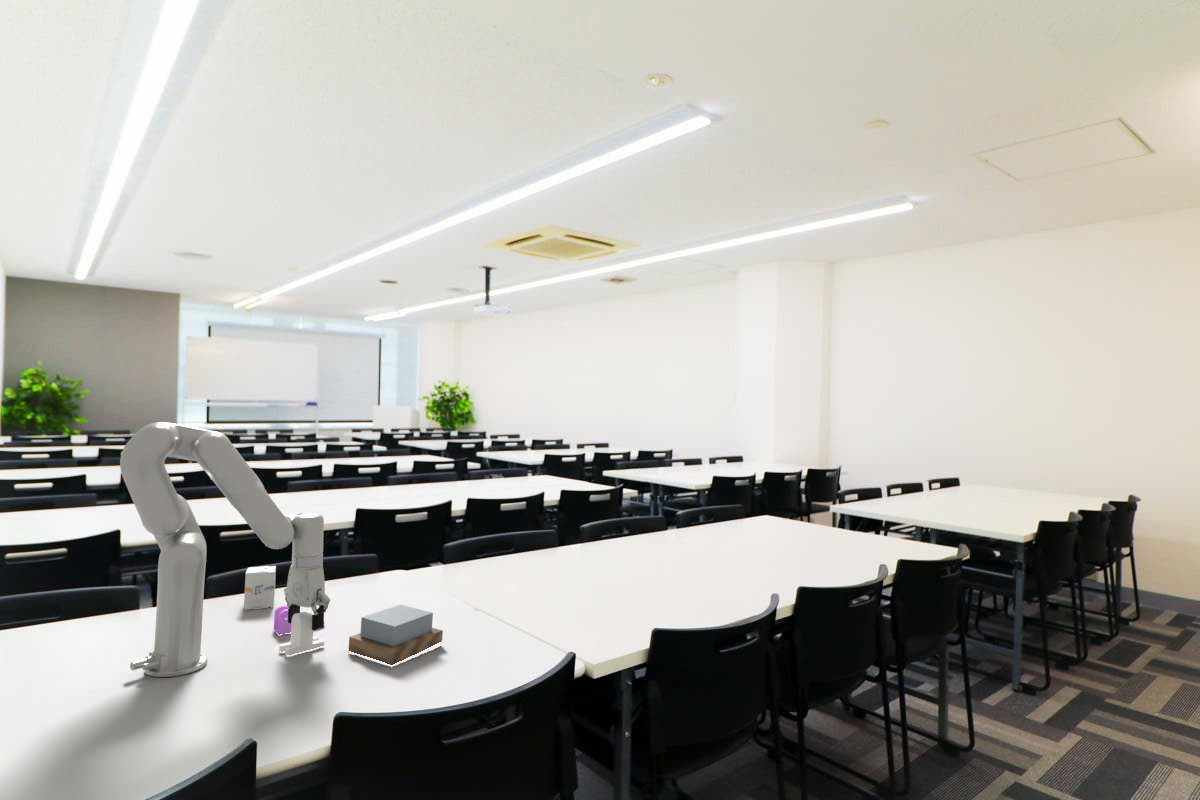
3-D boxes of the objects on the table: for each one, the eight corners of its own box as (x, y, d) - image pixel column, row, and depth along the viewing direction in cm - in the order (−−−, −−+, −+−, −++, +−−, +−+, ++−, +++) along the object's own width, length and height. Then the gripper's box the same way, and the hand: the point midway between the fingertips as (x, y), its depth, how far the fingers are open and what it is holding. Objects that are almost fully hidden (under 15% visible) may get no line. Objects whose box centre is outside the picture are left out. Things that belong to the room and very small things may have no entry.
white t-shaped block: (278, 652, 167) (280, 614, 167) (315, 642, 175) (317, 606, 175) (287, 657, 164) (289, 618, 164) (324, 648, 171) (326, 610, 172)
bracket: (278, 636, 178) (279, 611, 178) (273, 630, 183) (274, 606, 183) (326, 628, 187) (328, 604, 187) (320, 622, 191) (322, 599, 191)
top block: (393, 646, 163) (394, 626, 163) (360, 636, 168) (361, 617, 169) (431, 631, 175) (432, 612, 175) (399, 622, 181) (400, 604, 181)
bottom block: (391, 670, 160) (392, 650, 160) (348, 655, 168) (349, 636, 168) (441, 648, 176) (442, 630, 176) (400, 636, 184) (401, 619, 184)
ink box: (245, 602, 206) (247, 566, 206) (274, 600, 210) (276, 564, 210) (242, 610, 198) (245, 573, 199) (273, 608, 202) (275, 571, 202)
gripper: (273, 559, 171) (272, 623, 171) (316, 568, 162) (314, 635, 162) (299, 553, 177) (297, 615, 177) (341, 562, 169) (339, 627, 169)
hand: (305, 625), depth 170 cm, fingers open, 9 cm apart
